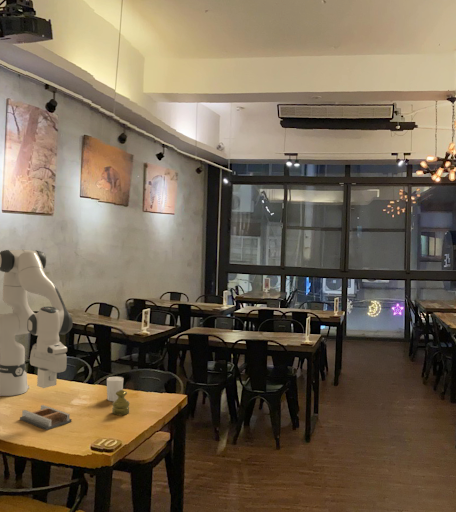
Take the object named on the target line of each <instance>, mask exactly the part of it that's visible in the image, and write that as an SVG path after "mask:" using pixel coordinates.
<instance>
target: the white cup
mask: <svg viewBox="0 0 456 512" xmlns="http://www.w3.org/2000/svg"><path fill="white" fill-rule="evenodd" d="M119 390H124V377H123V376H110V377H107V378H106V394H107V395H106V396H107V401H109V402H114V401H116V400H117V399H118V396H117V395H116V392H117V391H119Z"/></svg>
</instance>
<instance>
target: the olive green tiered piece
mask: <svg viewBox="0 0 456 512" xmlns="http://www.w3.org/2000/svg"><path fill="white" fill-rule="evenodd" d="M127 394H128V392H127V391H126V390H124V389H123V390H119V391H117V392H116V395H117V396H118V399H117V400H116V401H112V404H111V405H112V410H111V411H112V414H113V415H115V416H125V415H128V414H129V413H130V407H129V406H130V402H129V400H127V399H126V395H127Z"/></svg>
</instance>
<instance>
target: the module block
mask: <svg viewBox="0 0 456 512" xmlns="http://www.w3.org/2000/svg"><path fill="white" fill-rule="evenodd" d="M50 375H51V373H50V370H47V369H43V368H41V369H38V368H37V378H36V380H37V381H36V384H37V385H36V386H37V387H38V388H42V389H47V388H50V387H55V386H57V382H58V381H57V375H58V372H57V373H56V375H55V377H54V381H49V376H50Z"/></svg>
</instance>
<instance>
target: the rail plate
mask: <svg viewBox="0 0 456 512" xmlns="http://www.w3.org/2000/svg"><path fill="white" fill-rule="evenodd" d="M21 413H22V414H21V415H22V416H20V417H19V420H20V421H23V422H25V423H27V424H30V425H32V426H35V427H38V428H40V429H43V430H44V431H48V430H51V429H54V428H57V427H60V426H62V425H63V426H64V425H66V424H69V423H71V422H72V419H71V418H70V417H71V416H70V415H71V414H70V413H69V412H68V413H67V412H65V411H61V410H59V409H57V408H54V407H50V406H47V405H45V404H41V405H40V409H39V410H35V411H28V410H26V409H24V410H22V411H21Z"/></svg>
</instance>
